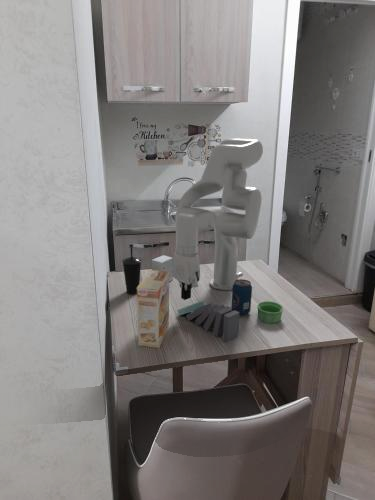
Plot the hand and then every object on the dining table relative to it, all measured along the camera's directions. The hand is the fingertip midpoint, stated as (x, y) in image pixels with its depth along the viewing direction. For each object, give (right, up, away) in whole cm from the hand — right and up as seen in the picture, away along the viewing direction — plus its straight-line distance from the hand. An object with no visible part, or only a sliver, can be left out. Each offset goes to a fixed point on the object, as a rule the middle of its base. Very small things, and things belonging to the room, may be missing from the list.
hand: (186, 298), depth 131 cm
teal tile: (-1, -5, +3) cm, 6 cm away
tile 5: (+11, -10, -10) cm, 18 cm away
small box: (-10, +3, +30) cm, 32 cm away
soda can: (+20, -6, +4) cm, 21 cm away
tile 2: (+2, -6, -1) cm, 7 cm away
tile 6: (+14, -11, -13) cm, 22 cm away
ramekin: (+30, -7, +1) cm, 30 cm away
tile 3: (+5, -7, -4) cm, 10 cm away
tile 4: (+8, -9, -7) cm, 14 cm away
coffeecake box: (-10, -11, -11) cm, 18 cm away
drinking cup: (-22, 0, +19) cm, 29 cm away
